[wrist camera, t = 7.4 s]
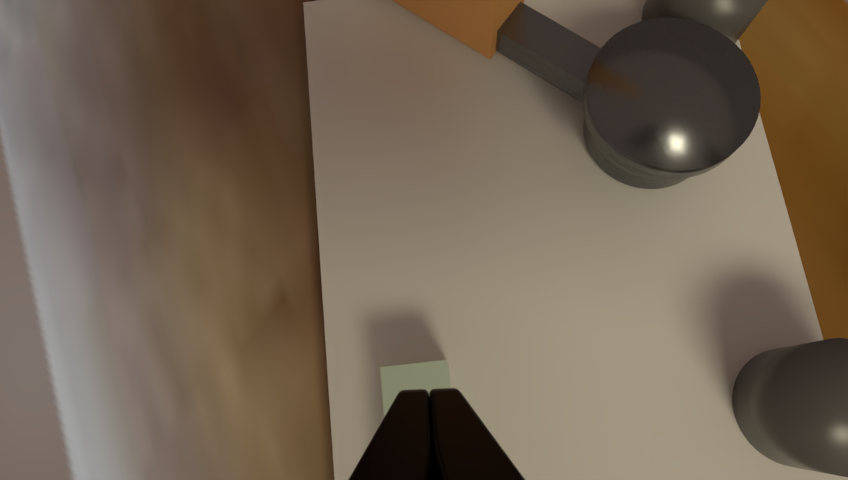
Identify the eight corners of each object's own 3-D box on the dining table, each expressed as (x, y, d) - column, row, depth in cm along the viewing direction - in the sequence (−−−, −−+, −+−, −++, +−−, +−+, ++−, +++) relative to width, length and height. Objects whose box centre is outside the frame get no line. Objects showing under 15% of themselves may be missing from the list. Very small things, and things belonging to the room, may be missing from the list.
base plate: (874, 566, 19) (986, 611, 15) (351, 621, 19) (322, 677, 15) (708, -32, 25) (757, -118, 21) (310, 20, 25) (281, -53, 21)
